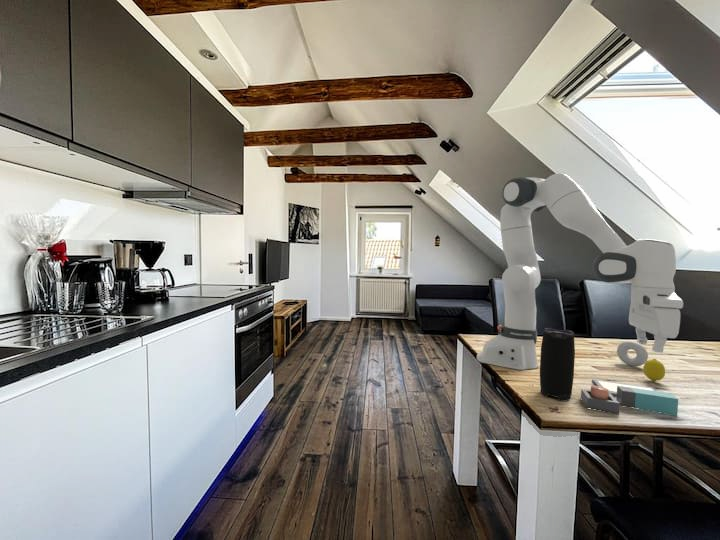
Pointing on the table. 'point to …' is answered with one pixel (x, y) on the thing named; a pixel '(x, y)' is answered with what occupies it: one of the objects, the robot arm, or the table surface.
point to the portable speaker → (557, 363)
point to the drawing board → (613, 385)
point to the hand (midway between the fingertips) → (649, 347)
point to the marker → (647, 400)
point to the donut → (638, 348)
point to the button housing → (600, 402)
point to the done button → (599, 392)
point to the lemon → (654, 370)
